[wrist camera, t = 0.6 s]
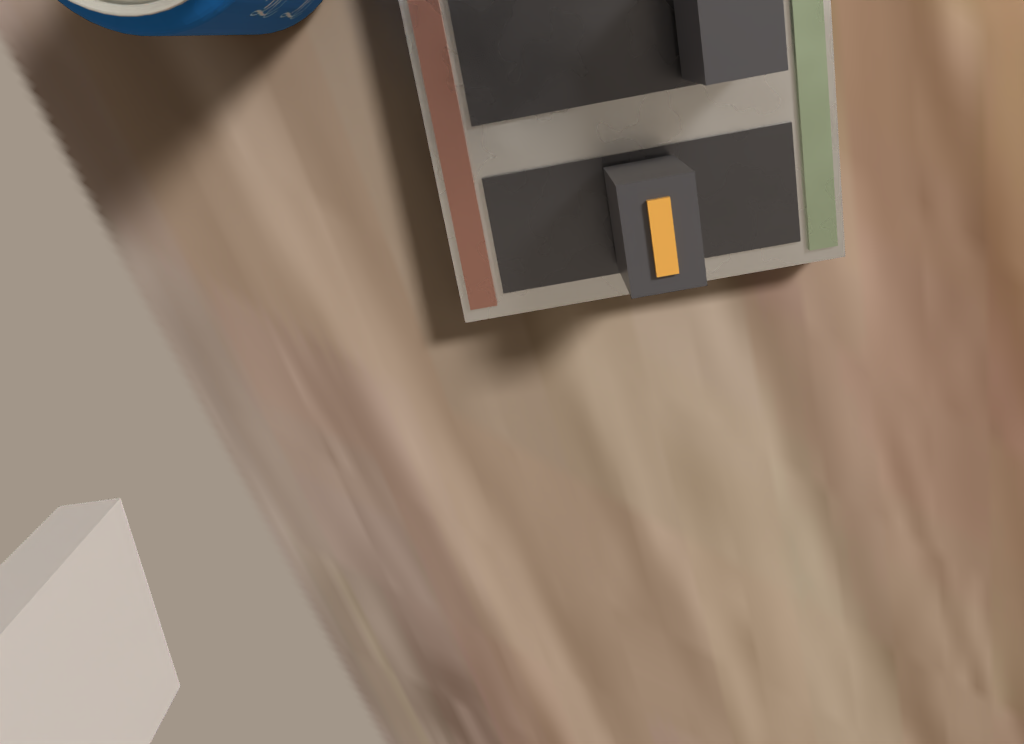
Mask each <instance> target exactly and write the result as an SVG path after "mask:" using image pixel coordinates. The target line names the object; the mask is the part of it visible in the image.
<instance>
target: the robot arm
mask: <svg viewBox="0 0 1024 744" xmlns="http://www.w3.org/2000/svg"><path fill="white" fill-rule="evenodd" d="M179 688H180V683H179V680H178V677H177V674H176V671H175V668H174V664H173V662H172V658H171V655H170V652H169V649H168V646H167V643H166V639H165V636H164V633H163V630H162V627H161V624H160V621H159V617H158V614H157V611H156V608H155V605H154V602H153V599H152V596H151V593H150V589H149V586H148V583H147V580H146V577H145V573H144V571H143V567H142V564H141V561H140V558H139V555H138V552H137V548H136V545H135V542H134V539H133V536H132V533H131V530H130V527H129V524H128V520H127V517H126V514H125V511H124V508H123V505H122V501H121V498H116V499H109V500H101V501H94V502H87V503H79V504H73V505H64V506H59V507H58V508H57V509H56V510H55V511H54V512H53V513H52V514H51V515H50V516H49V517H48V518H47V519H46V520H45V521H44V522H43V523H42V524H41V525H40V526H39V527H38V528H37V529H36V530H35V531H34V532H33V533H32V534H31V535H30V536H29V537H28V538H27V539H26V540H25V541H24V542H23V543H22V544H21V545H20V546H19V547H18V548H17V549H16V550H15V551H14V552H13V553H12V554H11V555H10V556H9V557H8V558H7V559H6V560H5V561H4V562H3V563H2V564H1V565H0V744H150V743H151V741H152V739H153V737H154V735H155V733H156V732H157V730H158V728H159V726H160V724H161V722H162V720H163V718H164V716H165V714H166V712H167V711H168V709H169V707H170V705H171V703H172V701H173V699H174V697H175V695H176V693H177V692H178V689H179Z"/></svg>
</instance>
